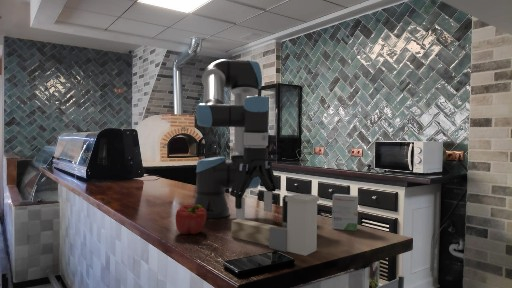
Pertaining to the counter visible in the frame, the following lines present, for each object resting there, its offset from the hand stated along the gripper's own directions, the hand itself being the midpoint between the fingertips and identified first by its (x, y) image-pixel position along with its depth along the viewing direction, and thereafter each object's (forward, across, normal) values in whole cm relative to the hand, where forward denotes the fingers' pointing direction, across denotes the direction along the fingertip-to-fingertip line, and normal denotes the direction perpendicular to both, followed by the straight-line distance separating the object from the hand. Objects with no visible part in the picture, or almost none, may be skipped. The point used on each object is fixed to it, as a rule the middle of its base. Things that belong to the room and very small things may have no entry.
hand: (254, 215), depth 112 cm
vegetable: (+8, -9, +19) cm, 23 cm away
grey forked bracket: (+7, -1, -15) cm, 17 cm away
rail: (+7, -1, -3) cm, 8 cm away
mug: (+8, +28, +2) cm, 30 cm away
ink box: (+8, +31, -16) cm, 36 cm away
